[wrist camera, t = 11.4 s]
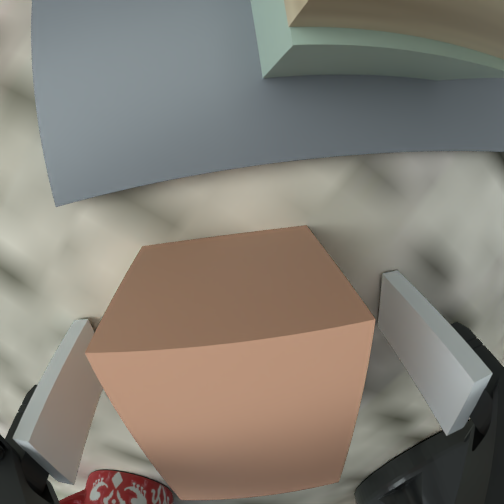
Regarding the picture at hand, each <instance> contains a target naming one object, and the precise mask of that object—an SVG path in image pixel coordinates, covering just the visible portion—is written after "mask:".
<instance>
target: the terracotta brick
mask: <svg viewBox="0 0 504 504" xmlns="http://www.w3.org/2000/svg"><path fill="white" fill-rule="evenodd" d="M375 320H376V319H375V318H374V316H373V315H372V313H371V312H370V311H369V309H368V308H367V306H366V305H365V303H364V302H363V301H362V299H361V298H360V296H359V295H358V294H357V292H356V291H355V290H354V288H353V287H352V285H351V284H350V283H349V281H348V280H347V278H346V277H345V276H344V274H343V273H342V272H341V270H340V269H339V268H338V266H337V265H336V264H335V262H334V261H333V260H332V258H331V257H330V256H329V254H328V253H327V252H326V250H325V249H324V248H323V246H322V245H321V244H320V242H319V241H318V240H317V238H316V237H315V236H314V234H313V233H312V232H311V231H310V229H309V228H308V227H307V225H305V226H296V227H288V228H280V229H271V230H263V231H255V232H247V233H239V234H231V235H223V236H215V237H208V238H200V239H193V240H185V241H178V242H170V243H163V244H156V245H149V246H142V248H141V249H140V251H139V253H138V254H137V256H136V258H135V259H134V261H133V263H132V265H131V266H130V268H129V270H128V271H127V273H126V275H125V277H124V279H123V280H122V282H121V284H120V286H119V287H118V289H117V291H116V293H115V295H114V297H113V298H112V300H111V302H110V304H109V306H108V308H107V310H106V312H105V313H104V315H103V317H102V319H101V321H100V323H99V325H98V327H97V329H96V331H95V333H94V335H93V337H92V339H91V341H90V343H89V345H88V347H87V349H86V351H85V355H86V357H87V359H88V361H89V363H90V365H91V367H92V369H93V370H94V372H95V374H96V376H97V378H98V380H99V382H100V383H101V385H102V387H103V389H104V391H105V392H106V394H107V396H108V398H109V399H110V401H111V403H112V404H113V406H114V408H115V409H116V411H117V413H118V414H119V416H120V417H121V419H122V421H123V422H124V424H125V425H126V427H127V428H128V430H129V431H130V433H131V434H132V436H133V437H134V439H135V440H136V442H137V443H138V445H139V446H140V448H141V449H142V451H143V452H144V453H145V455H146V456H147V457H148V459H149V460H150V462H151V463H152V464H153V466H154V467H155V468H156V470H157V471H158V472H159V474H160V475H161V476H162V477H163V479H164V480H165V481H166V482H167V484H168V485H169V486H170V487H171V489H172V490H173V491H174V492H175V493H176V495H177V496H178V497H179V498H180V499H181V500H220V499H236V498H248V497H258V496H266V495H274V494H281V493H287V492H293V491H299V490H305V489H310V488H315V487H319V486H324V485H328V484H333V483H337V482H339V480H340V477H341V474H342V471H343V467H344V464H345V461H346V457H347V454H348V450H349V447H350V443H351V439H352V436H353V432H354V428H355V424H356V420H357V416H358V412H359V407H360V403H361V398H362V394H363V389H364V384H365V379H366V374H367V369H368V364H369V358H370V352H371V346H372V340H373V334H374V327H375Z"/></svg>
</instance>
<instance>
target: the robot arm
mask: <svg viewBox="0 0 504 504" xmlns="http://www.w3.org/2000/svg"><path fill="white" fill-rule="evenodd" d="M377 326H378V327H379V329H380V330H381V332H382V333H383V335H384V336H385V338H386V339H387V341H388V342H389V344H390V345H391V347H392V348H393V350H394V351H395V353H396V354H397V356H398V358H399V359H400V361H401V362H402V364H403V365H404V367H405V368H406V370H407V372H408V373H409V375H410V376H411V378H412V380H413V381H414V383H415V384H416V386H417V388H418V389H419V391H420V392H421V394H422V396H423V397H424V399H425V401H426V402H427V404H428V406H429V407H430V409H431V411H432V412H433V414H434V416H435V417H436V419H437V421H438V422H439V424H440V426H441V427H442V429H443V432H441V433H439V434H437V435H435V436H433V437H431V438H429V439H428V440H426V441H424V442H422V443H420V444H418V445H417V446H415V447H413V448H412V449H410V450H408V451H406V452H405V453H403V454H402V455H400V456H398V457H397V458H395V459H394V460H392V461H390V462H389V463H387V464H386V465H384V466H383V467H382V468H380V469H379V470H377V471H376V472H375V473H373V474H372V475H371V476H369V477H368V478H367V479H366V480H365V481H364V482H363V483H362V484H361V485H360V486H359V487H358V488H357V490H356V491H355V499H356V502H357V504H504V367H503V366H502V365H501V364H500V362H499V361H498V360H497V359H496V358H495V357H494V356H493V354H492V353H491V352H490V351H489V350H488V349H487V348H486V347H485V346H483V343H482V342H481V341H480V340H479V339H477V338H476V336H475V335H474V334H473V333H472V332H471V331H470V329H469V328H467V327H465V326H463V325H462V324H460V323H458V322H456V323H453V324H449V323H448V322H447V321H446V319H445V318H444V317H443V316H442V315H441V314H440V313H439V312H438V311H437V310H436V309H435V308H434V307H433V306H432V305H431V304H430V303H429V301H428V300H427V299H426V298H425V297H424V296H423V295H422V294H421V293H420V292H419V291H418V290H417V289H416V288H415V287H414V286H413V285H412V284H411V283H410V282H409V281H408V280H407V279H406V278H405V277H404V276H403V275H402V274H401V273H400V272H399V271H398V270H397V271H392V272H387V273H383V274H382V283H381V295H380V306H379V316H378V325H377ZM93 335H94V331H93V328H92V326H91V324H90V322H89V320H88V319H82V320H74V322H73V323H72V325H71V327H70V328H69V330H68V332H67V333H66V335H65V337H64V338H63V340H62V342H61V343H60V345H59V347H58V349H57V350H56V352H55V354H54V356H53V358H52V359H51V361H50V363H49V365H48V367H47V368H46V370H45V372H44V374H43V376H42V378H41V380H40V382H39V384H38V385H34V387H33V388H32V389H31V390H30V391H29V392H28V393H27V394H26V396H25V398H24V400H23V402H22V405H21V406H20V408H19V410H18V411H19V413H17V414H16V416H15V419H14V421H13V423H12V425H11V427H10V429H9V431H8V434H7V436H6V438H5V439H4V438H3V437H2V436H1V435H0V504H60V503H59V500H58V498H57V496H56V493H55V491H54V489H53V486H52V484H51V483H50V482H49V481H48V480H47V479H48V475H49V474H50V475H51V476H52V477H53V478H54V479H56V480H57V481H58V482H62V483H67V484H72V485H74V484H75V480H76V476H77V472H78V468H79V464H80V461H81V457H82V454H83V450H84V446H85V443H86V440H87V436H88V433H89V429H90V426H91V423H92V420H93V417H94V413H95V410H96V407H97V404H98V401H99V398H100V395H101V392H102V389H103V387H102V385H101V383H100V382H99V380H98V378H97V376H96V374H95V372H94V370H93V369H92V367H91V365H90V363H89V361H88V359H87V357H86V355H85V351H86V349H87V347H88V345H89V343H90V341H91V339H92V337H93ZM469 418H471V421H468V419H469Z"/></svg>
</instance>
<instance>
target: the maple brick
mask: <svg viewBox="0 0 504 504" xmlns="http://www.w3.org/2000/svg"><path fill="white" fill-rule="evenodd" d="M284 4H285V9H286V15H287V21H288V27H336V28H353V29H365V30H375V31H383V32H391V33H398V34H404V35H410V36H416V37H422V38H427V39H432V40H436V41H441V42H445V43H449V44H453V45H457V46H461V47H465V48H468V49H472V50H475V51H479V52H482V53H485V54H488V55H491V56H494V57H497V58H500V59H503V60H504V0H284Z"/></svg>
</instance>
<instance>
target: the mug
mask: <svg viewBox="0 0 504 504" xmlns="http://www.w3.org/2000/svg"><path fill="white" fill-rule="evenodd" d="M59 503H60V504H173V495H172V492H171V491H170V490H169V489H168V488H167V487H165V486H163V485H162V484H160V483H158V482H156V481H153V480H150V479H148V478H145V477H142V476H138V475H134V474H130V473H125V472H119V471H110V470H100V471H95V472H92V473H91V474H90V475H89V477H88V480H87V483H86V487H85V489H84V490H82V491H80V492H77V493H75V494H73V495H70V496H68V497H66V498H64V499H62V500H60V501H59Z"/></svg>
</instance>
